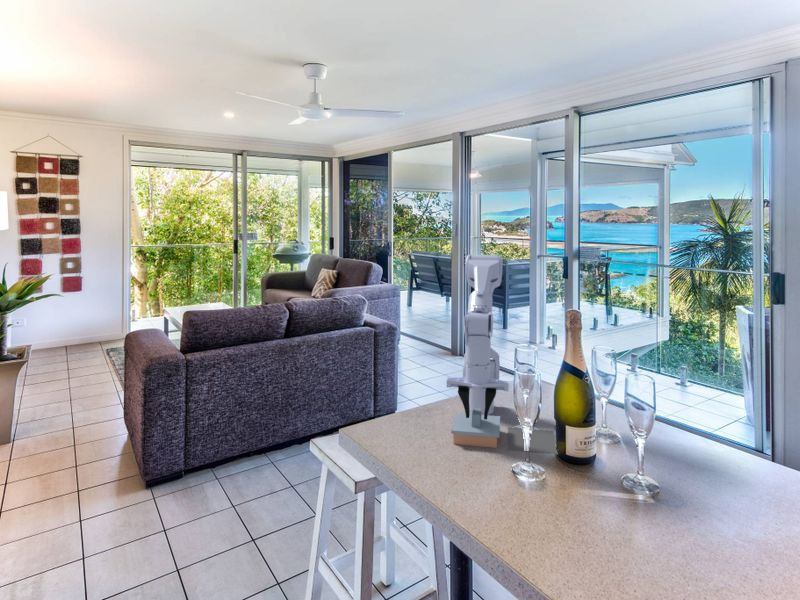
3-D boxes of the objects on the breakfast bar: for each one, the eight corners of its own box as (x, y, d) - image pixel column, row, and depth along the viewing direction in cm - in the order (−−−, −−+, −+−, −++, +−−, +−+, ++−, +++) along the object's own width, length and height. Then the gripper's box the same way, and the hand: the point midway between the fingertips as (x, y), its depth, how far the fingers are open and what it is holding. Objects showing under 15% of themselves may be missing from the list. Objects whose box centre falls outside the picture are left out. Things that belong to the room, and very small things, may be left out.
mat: (507, 430, 125) (508, 427, 125) (553, 433, 123) (553, 430, 123) (507, 453, 112) (507, 449, 112) (558, 457, 110) (558, 454, 110)
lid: (456, 415, 125) (456, 401, 125) (500, 419, 123) (500, 404, 122) (451, 433, 115) (451, 418, 114) (499, 437, 112) (499, 421, 112)
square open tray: (457, 429, 125) (457, 416, 125) (497, 433, 123) (498, 420, 123) (453, 447, 116) (453, 432, 115) (496, 451, 113) (497, 436, 113)
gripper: (445, 365, 114) (444, 421, 116) (509, 369, 111) (507, 426, 113) (448, 357, 121) (448, 410, 123) (509, 360, 118) (507, 414, 120)
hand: (476, 417), depth 119 cm, fingers open, 4 cm apart
